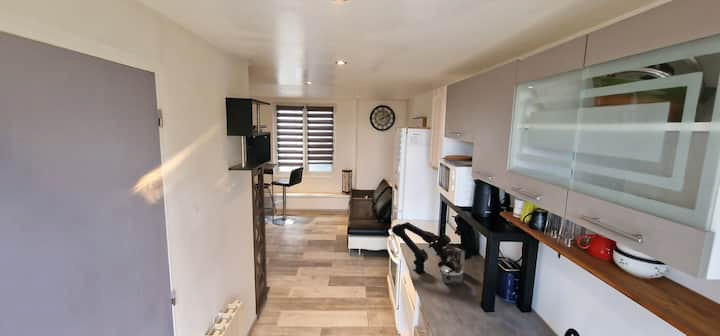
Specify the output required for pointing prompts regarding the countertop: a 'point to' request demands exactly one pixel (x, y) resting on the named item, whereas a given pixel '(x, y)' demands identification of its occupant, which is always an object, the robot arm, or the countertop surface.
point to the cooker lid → (452, 271)
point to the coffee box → (459, 258)
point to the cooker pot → (452, 280)
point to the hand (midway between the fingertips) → (455, 270)
